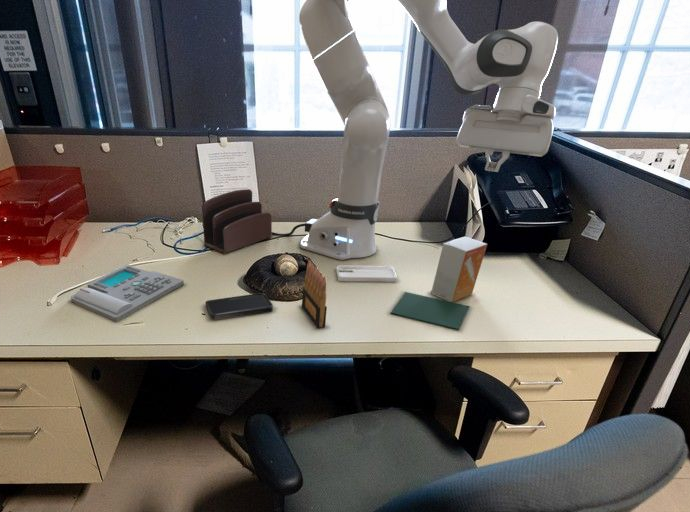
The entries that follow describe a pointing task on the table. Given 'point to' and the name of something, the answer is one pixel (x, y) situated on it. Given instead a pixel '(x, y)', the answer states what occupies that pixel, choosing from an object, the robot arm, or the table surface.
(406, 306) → the mat
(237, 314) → the phone
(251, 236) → the letter holder
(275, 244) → the table surface
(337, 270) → the phone case
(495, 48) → the robot arm
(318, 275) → the ammunition clip
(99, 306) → the office telephone
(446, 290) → the small box
